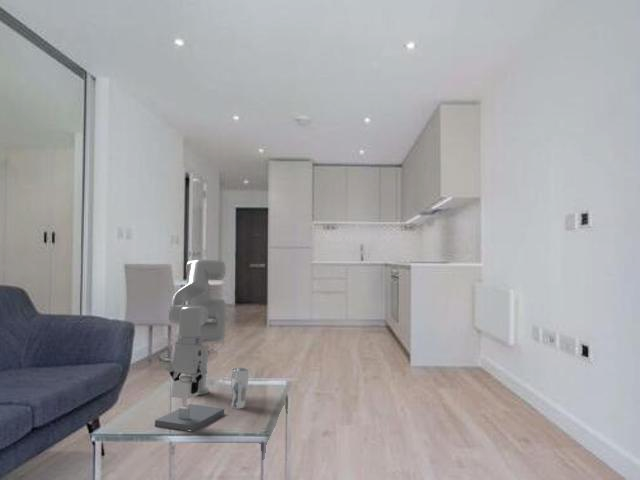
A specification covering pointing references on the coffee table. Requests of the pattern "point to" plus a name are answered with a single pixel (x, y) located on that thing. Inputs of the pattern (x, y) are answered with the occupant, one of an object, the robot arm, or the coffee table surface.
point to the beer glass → (239, 387)
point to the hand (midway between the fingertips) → (185, 391)
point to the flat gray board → (189, 417)
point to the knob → (183, 388)
